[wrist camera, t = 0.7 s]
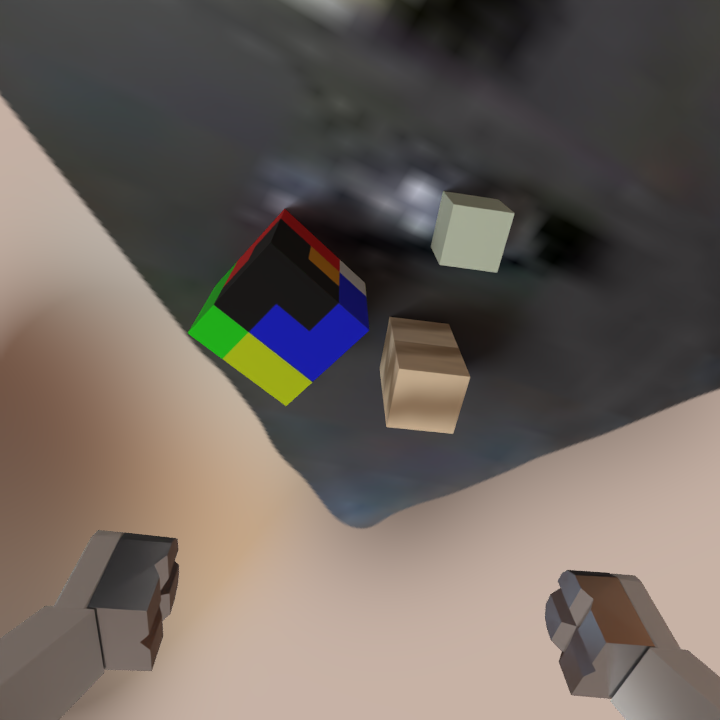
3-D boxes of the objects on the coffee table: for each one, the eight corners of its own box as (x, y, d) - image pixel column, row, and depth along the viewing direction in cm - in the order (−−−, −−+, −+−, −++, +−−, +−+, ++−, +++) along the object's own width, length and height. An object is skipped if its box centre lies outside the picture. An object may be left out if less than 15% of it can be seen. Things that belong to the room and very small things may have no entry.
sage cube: (443, 190, 44) (453, 204, 40) (498, 199, 45) (514, 213, 40) (430, 246, 47) (439, 264, 42) (483, 253, 47) (497, 272, 43)
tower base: (389, 316, 50) (393, 340, 46) (448, 324, 51) (458, 348, 46) (379, 368, 53) (382, 395, 49) (435, 374, 54) (443, 401, 49)
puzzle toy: (365, 282, 48) (369, 330, 40) (295, 349, 52) (286, 406, 43) (284, 208, 45) (270, 242, 36) (216, 285, 48) (187, 333, 39)
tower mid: (393, 340, 46) (399, 368, 41) (458, 347, 46) (470, 376, 42) (382, 394, 49) (386, 426, 44) (443, 401, 49) (452, 433, 45)
